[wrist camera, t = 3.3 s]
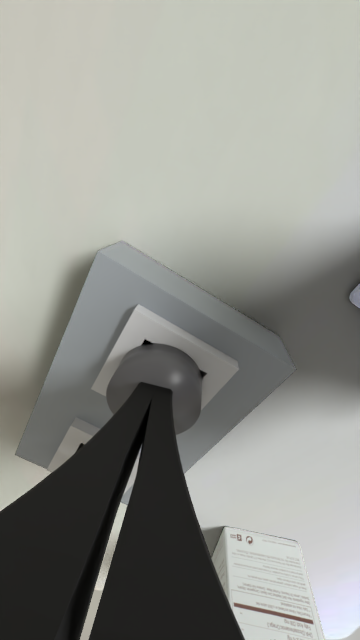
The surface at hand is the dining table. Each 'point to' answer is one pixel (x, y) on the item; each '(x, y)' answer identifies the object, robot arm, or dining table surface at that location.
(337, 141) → the dining table surface
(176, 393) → the knob
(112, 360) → the mount plate
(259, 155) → the dining table surface
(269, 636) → the supplement box
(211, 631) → the robot arm
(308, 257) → the dining table surface
